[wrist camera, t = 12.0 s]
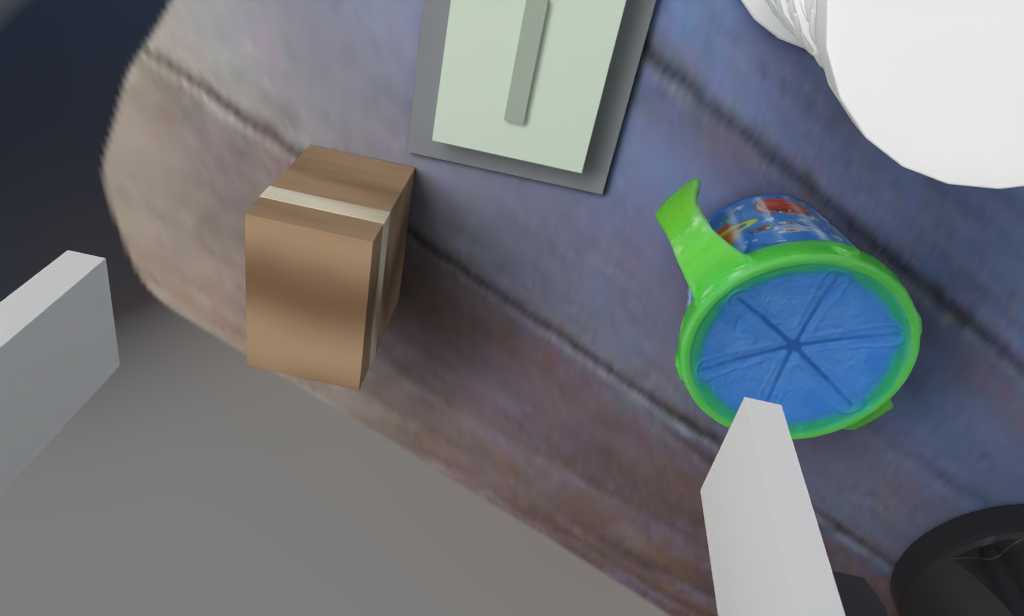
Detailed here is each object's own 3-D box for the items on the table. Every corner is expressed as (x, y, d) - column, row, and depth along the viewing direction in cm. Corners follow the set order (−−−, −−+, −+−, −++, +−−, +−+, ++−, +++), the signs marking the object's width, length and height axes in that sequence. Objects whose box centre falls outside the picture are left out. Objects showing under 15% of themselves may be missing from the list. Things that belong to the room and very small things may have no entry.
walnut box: (399, 300, 47) (359, 390, 39) (304, 279, 47) (246, 366, 39) (416, 167, 42) (373, 241, 34) (309, 143, 42) (243, 212, 34)
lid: (582, 163, 40) (581, 175, 39) (437, 131, 40) (430, 142, 39) (632, -35, 35) (634, -30, 33) (465, -73, 35) (459, -69, 33)
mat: (602, 191, 41) (602, 194, 41) (408, 149, 41) (406, 151, 41) (672, -64, 34) (673, -63, 34) (438, -116, 34) (437, -116, 34)
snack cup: (914, 295, 43) (990, 410, 34) (752, 381, 47) (784, 503, 39) (767, 85, 37) (815, 160, 29) (600, 205, 42) (598, 301, 33)
